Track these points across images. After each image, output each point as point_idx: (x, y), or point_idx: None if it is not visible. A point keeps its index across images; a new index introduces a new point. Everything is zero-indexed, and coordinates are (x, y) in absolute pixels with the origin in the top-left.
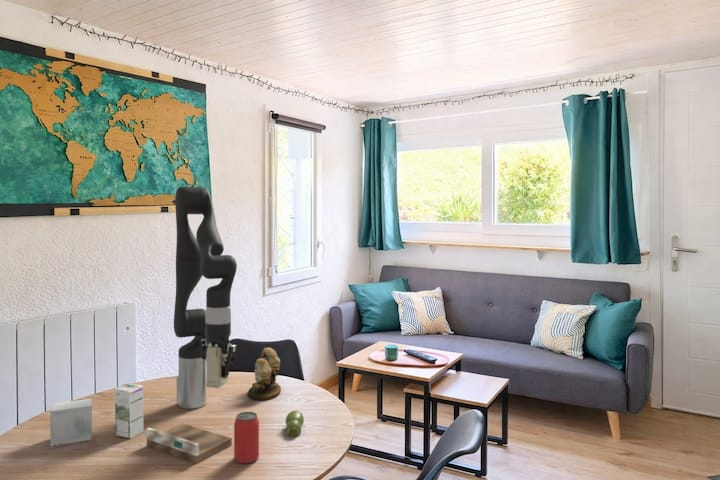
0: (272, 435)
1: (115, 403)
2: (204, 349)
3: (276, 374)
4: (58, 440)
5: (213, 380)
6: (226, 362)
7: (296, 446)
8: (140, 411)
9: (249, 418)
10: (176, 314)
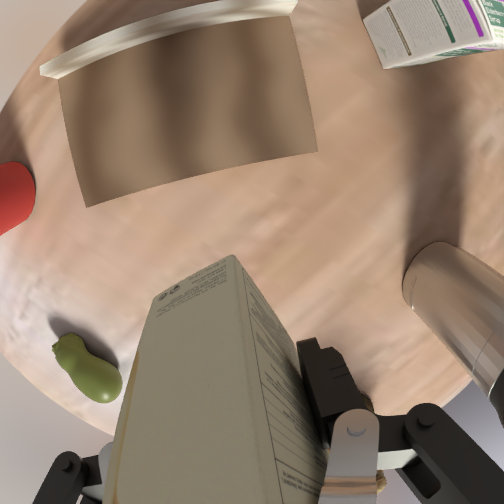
0: (90, 313)
1: None
2: (448, 496)
3: None
4: None
5: (178, 308)
6: (74, 469)
7: (22, 309)
8: (418, 42)
9: None
10: None
